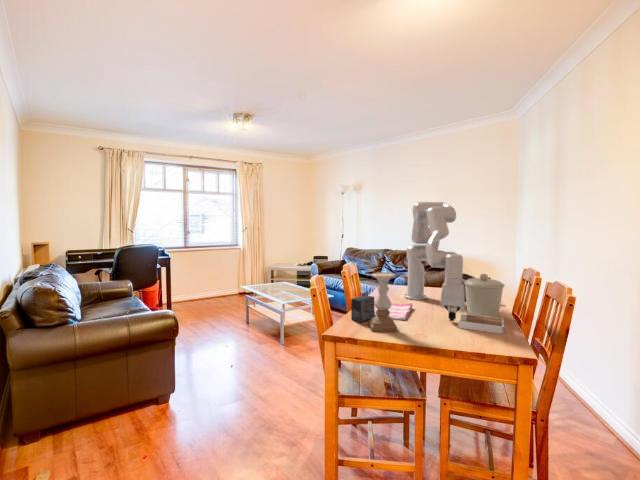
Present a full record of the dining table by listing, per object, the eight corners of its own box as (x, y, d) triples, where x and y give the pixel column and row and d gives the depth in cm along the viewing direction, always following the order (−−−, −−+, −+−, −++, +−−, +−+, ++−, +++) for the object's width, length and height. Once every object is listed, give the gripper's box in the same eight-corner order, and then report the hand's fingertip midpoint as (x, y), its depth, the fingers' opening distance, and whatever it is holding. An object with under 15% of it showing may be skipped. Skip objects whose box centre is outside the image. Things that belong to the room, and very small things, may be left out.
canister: (507, 316, 173) (509, 273, 171) (496, 324, 160) (498, 278, 158) (469, 309, 185) (471, 269, 183) (456, 316, 172) (458, 274, 170)
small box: (364, 315, 174) (364, 294, 173) (375, 318, 169) (375, 296, 169) (350, 320, 167) (350, 298, 166) (361, 323, 162) (361, 300, 161)
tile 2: (483, 325, 160) (484, 315, 159) (501, 327, 157) (501, 317, 156) (483, 329, 154) (483, 319, 153) (501, 332, 150) (501, 322, 150)
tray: (460, 319, 167) (461, 313, 167) (503, 325, 159) (503, 318, 159) (458, 327, 156) (458, 321, 155) (503, 334, 148) (504, 327, 147)
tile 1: (467, 322, 163) (467, 313, 163) (483, 325, 160) (484, 315, 160) (466, 327, 157) (466, 317, 156) (483, 329, 154) (483, 319, 153)
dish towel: (413, 309, 186) (413, 303, 186) (405, 322, 165) (405, 314, 165) (381, 305, 193) (381, 299, 193) (370, 317, 172) (370, 310, 172)
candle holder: (368, 323, 161) (369, 271, 159) (392, 323, 161) (393, 272, 159) (371, 331, 150) (372, 276, 148) (397, 332, 150) (398, 276, 148)
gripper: (471, 281, 161) (470, 320, 163) (437, 278, 168) (436, 316, 169) (470, 284, 154) (469, 325, 156) (435, 281, 161) (433, 320, 162)
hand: (452, 320), depth 163 cm, fingers closed
